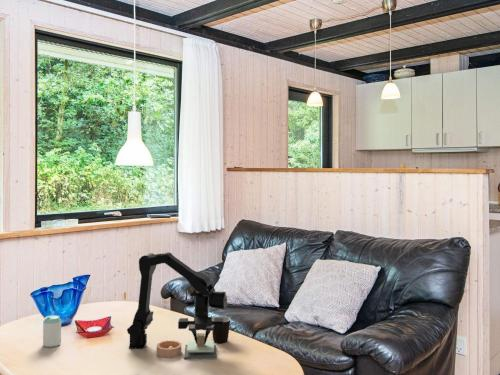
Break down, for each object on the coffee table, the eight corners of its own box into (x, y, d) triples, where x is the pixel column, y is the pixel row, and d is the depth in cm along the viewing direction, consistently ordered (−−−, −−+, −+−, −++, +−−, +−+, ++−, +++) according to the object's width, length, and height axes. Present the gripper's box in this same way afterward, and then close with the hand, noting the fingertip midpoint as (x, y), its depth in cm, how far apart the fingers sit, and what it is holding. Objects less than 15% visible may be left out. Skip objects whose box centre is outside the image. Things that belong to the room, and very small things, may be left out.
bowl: (155, 358, 192) (155, 349, 192) (157, 348, 202) (158, 340, 202) (180, 357, 193) (180, 349, 193) (181, 348, 203) (182, 340, 203)
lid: (186, 352, 192) (187, 339, 192) (187, 342, 203) (188, 330, 203) (214, 352, 193) (214, 339, 193) (213, 342, 204) (214, 330, 204)
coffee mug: (227, 345, 207) (227, 322, 207) (208, 343, 209) (208, 321, 209) (233, 336, 219) (234, 315, 218) (215, 334, 220) (215, 313, 220)
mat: (184, 359, 191) (184, 356, 191) (185, 347, 204) (185, 344, 204) (216, 358, 193) (216, 356, 193) (216, 346, 206) (216, 344, 206)
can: (54, 348, 199) (54, 320, 199) (39, 347, 200) (39, 318, 200) (64, 342, 206) (64, 315, 205) (49, 341, 207) (49, 313, 207)
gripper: (177, 312, 189) (176, 351, 189) (224, 312, 191) (223, 351, 191) (179, 304, 200) (178, 341, 201) (223, 304, 202) (222, 341, 202)
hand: (200, 343), depth 198 cm, fingers closed on lid, 3 cm apart
